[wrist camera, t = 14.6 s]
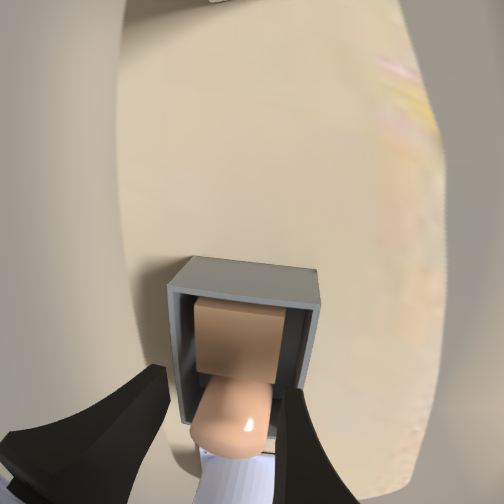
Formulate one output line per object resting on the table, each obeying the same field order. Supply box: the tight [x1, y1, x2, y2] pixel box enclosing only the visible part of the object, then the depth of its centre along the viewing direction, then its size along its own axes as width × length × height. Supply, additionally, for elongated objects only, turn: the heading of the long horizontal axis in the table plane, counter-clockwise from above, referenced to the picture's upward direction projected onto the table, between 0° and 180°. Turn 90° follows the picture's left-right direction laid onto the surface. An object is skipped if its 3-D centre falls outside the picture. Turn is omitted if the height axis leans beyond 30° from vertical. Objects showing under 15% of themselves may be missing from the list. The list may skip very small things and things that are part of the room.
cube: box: [194, 296, 286, 384], centre depth 16 cm, size 4×4×4 cm
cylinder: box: [190, 374, 274, 459], centre depth 16 cm, size 4×4×6 cm
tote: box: [167, 256, 321, 439], centre depth 17 cm, size 10×7×4 cm
